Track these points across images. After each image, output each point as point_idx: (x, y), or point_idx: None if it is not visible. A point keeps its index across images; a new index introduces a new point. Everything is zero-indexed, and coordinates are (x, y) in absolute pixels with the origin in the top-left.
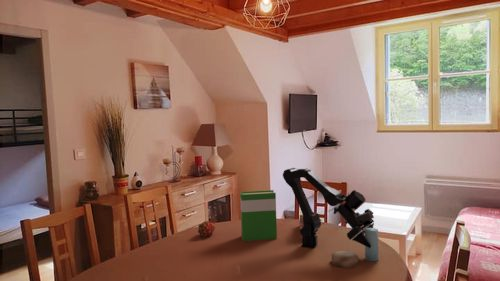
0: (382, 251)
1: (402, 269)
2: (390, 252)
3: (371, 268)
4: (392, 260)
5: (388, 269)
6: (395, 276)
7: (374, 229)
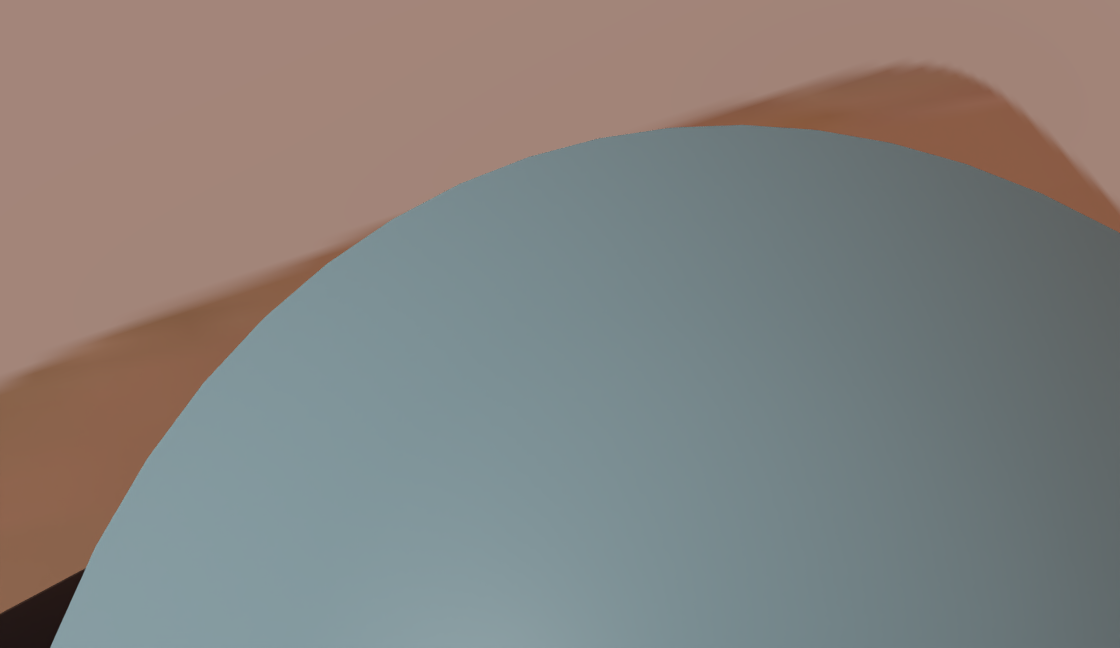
0: (102, 532)
1: (766, 111)
2: (121, 385)
3: None
4: None
5: None
6: (1054, 142)
7: (527, 471)
